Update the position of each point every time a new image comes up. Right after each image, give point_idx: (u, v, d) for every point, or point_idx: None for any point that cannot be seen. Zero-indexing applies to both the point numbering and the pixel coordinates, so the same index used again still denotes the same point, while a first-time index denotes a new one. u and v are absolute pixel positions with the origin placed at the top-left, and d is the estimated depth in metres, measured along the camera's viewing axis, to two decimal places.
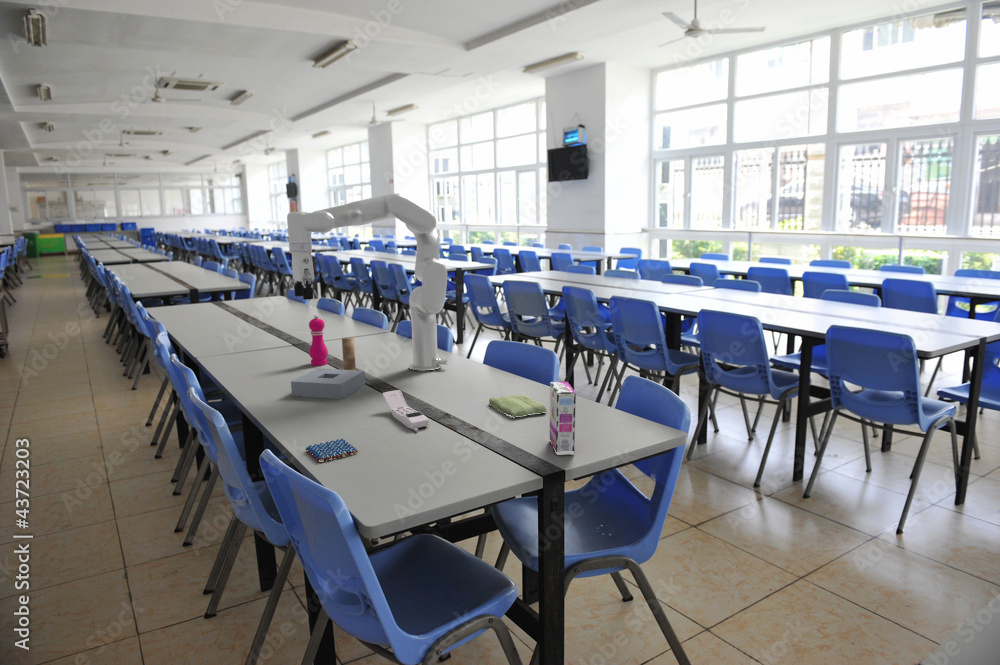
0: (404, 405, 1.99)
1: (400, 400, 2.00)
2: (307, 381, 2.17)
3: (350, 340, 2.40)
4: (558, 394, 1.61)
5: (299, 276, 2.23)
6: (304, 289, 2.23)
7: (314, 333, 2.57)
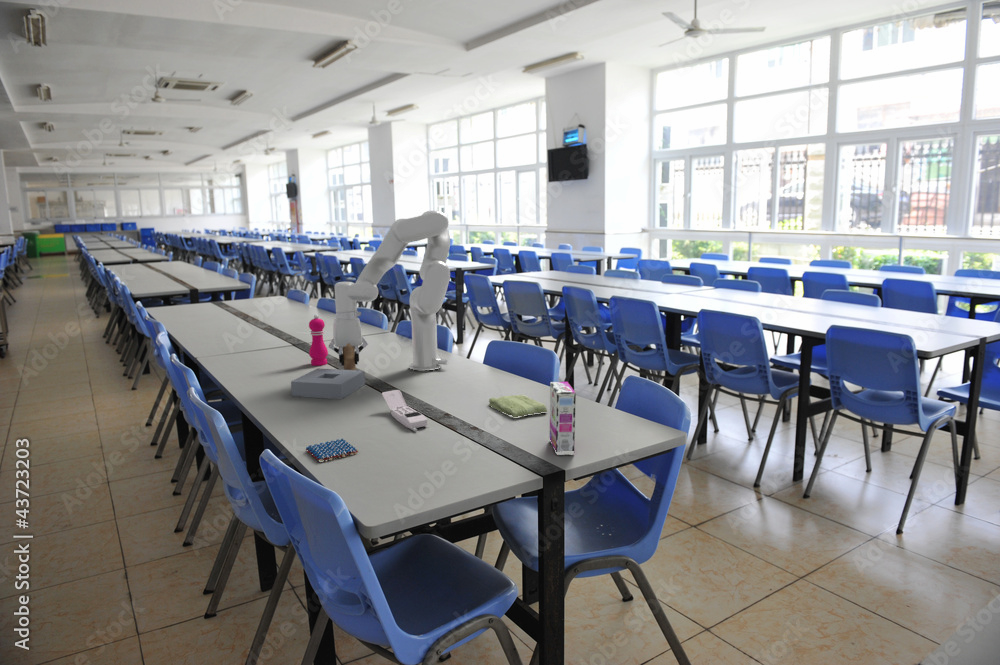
0: (403, 405, 1.99)
1: (399, 400, 2.00)
2: (307, 381, 2.17)
3: None
4: (558, 394, 1.61)
5: (358, 340, 2.41)
6: (357, 355, 2.42)
7: (314, 333, 2.57)
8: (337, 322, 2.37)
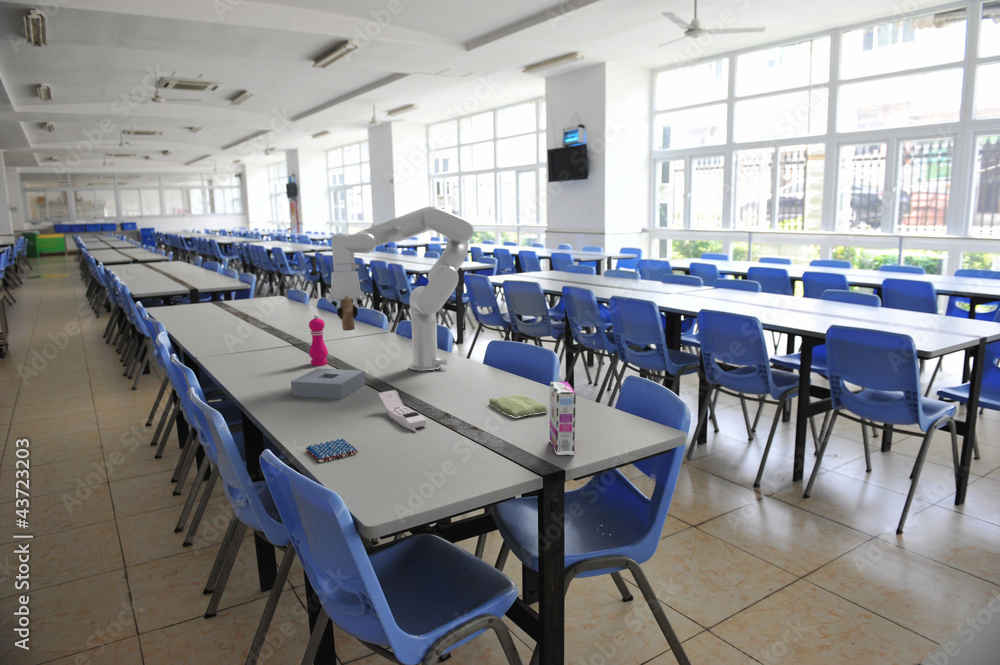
0: (400, 405, 1.99)
1: (396, 400, 2.00)
2: (307, 381, 2.17)
3: None
4: (558, 394, 1.61)
5: (357, 293, 2.37)
6: (355, 308, 2.39)
7: (314, 333, 2.57)
8: (335, 274, 2.34)
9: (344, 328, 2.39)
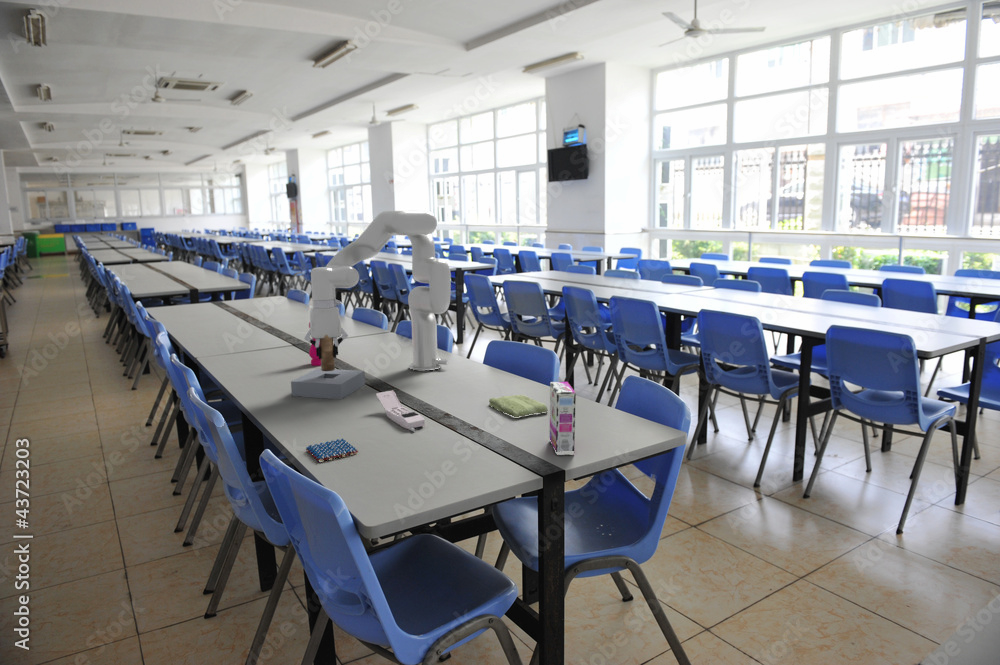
0: (398, 405, 1.99)
1: (394, 400, 2.00)
2: (307, 381, 2.17)
3: None
4: (558, 394, 1.61)
5: (337, 332, 2.20)
6: (335, 347, 2.21)
7: None
8: (313, 311, 2.16)
9: (323, 369, 2.21)
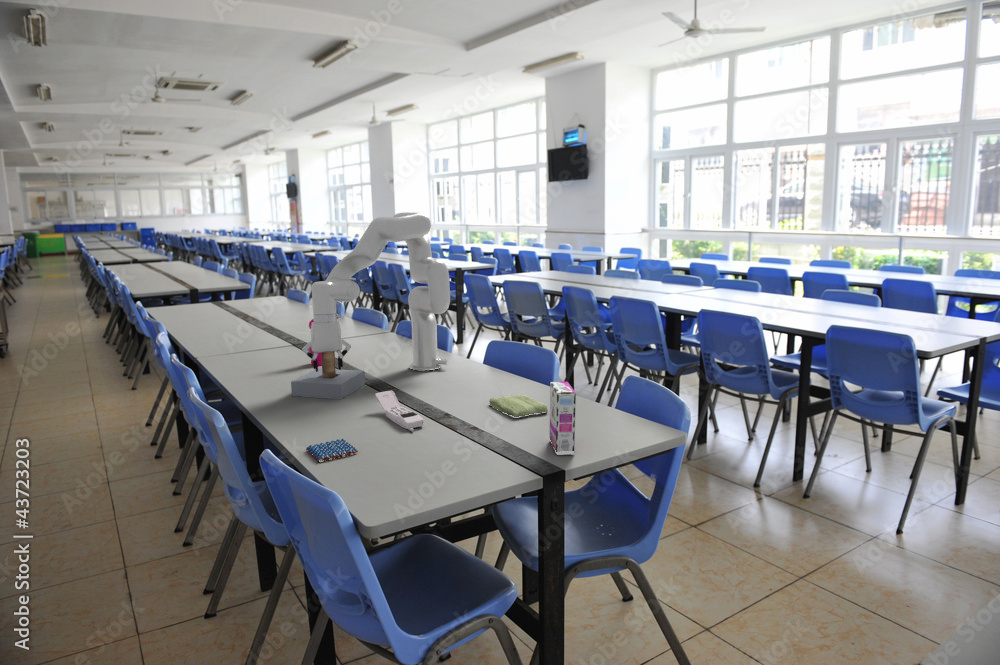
0: (397, 405, 1.99)
1: (393, 400, 2.00)
2: (307, 381, 2.17)
3: (330, 352, 2.20)
4: (558, 394, 1.61)
5: (338, 345, 2.21)
6: (340, 359, 2.23)
7: None
8: (314, 325, 2.17)
9: None
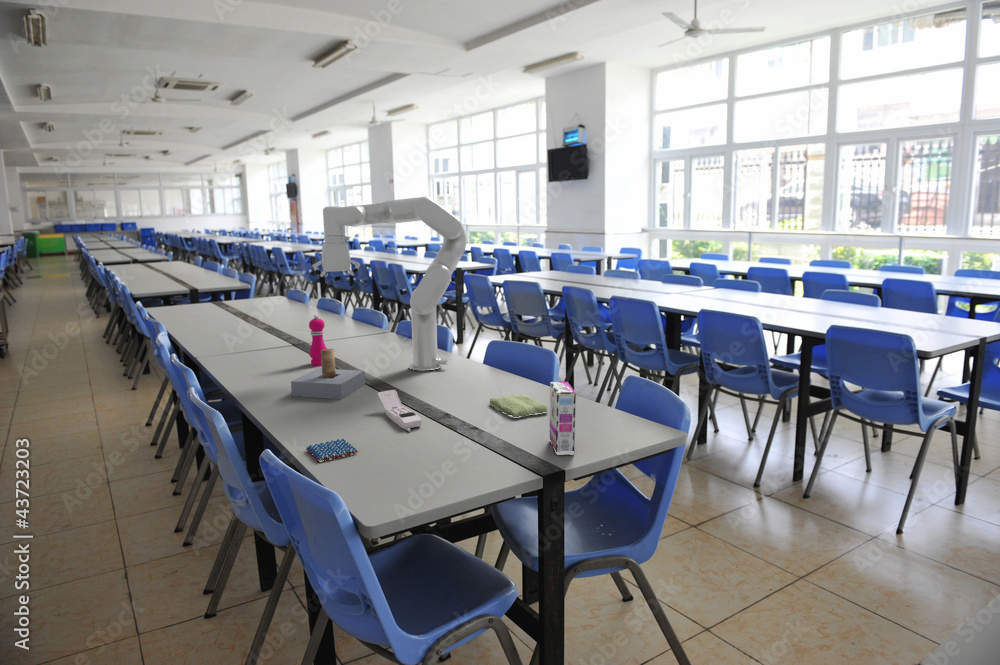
0: (398, 405, 1.99)
1: (395, 400, 2.00)
2: (307, 381, 2.17)
3: (330, 352, 2.20)
4: (558, 394, 1.61)
5: (347, 265, 2.43)
6: (351, 277, 2.45)
7: (314, 333, 2.57)
8: (325, 246, 2.39)
9: None
